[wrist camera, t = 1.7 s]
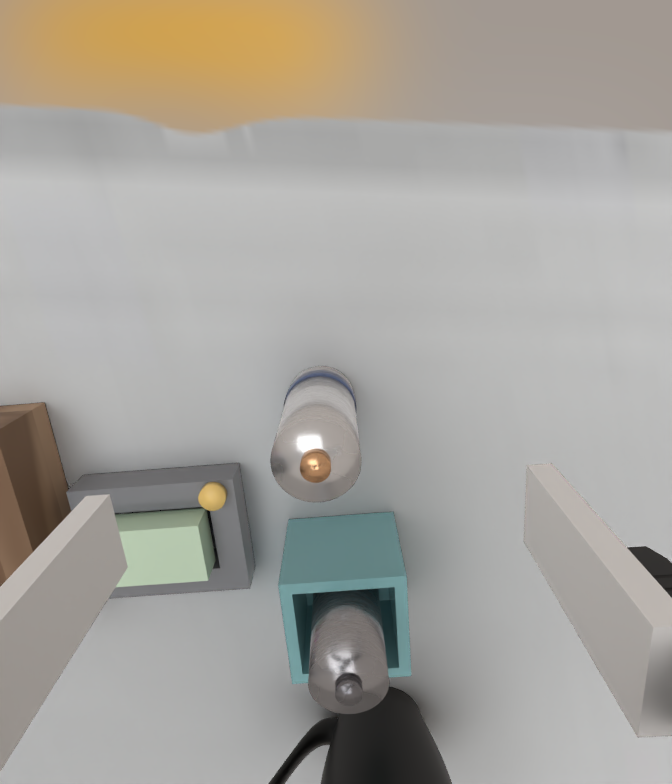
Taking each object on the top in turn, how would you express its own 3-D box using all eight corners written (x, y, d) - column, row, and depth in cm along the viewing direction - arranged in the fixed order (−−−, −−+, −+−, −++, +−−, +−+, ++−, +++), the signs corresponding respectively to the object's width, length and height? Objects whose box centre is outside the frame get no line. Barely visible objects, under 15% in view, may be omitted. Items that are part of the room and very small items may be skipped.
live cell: (291, 431, 28) (273, 514, 20) (283, 367, 27) (261, 428, 19) (356, 426, 28) (366, 507, 20) (352, 362, 27) (359, 420, 19)
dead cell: (317, 595, 31) (311, 729, 22) (312, 544, 30) (303, 665, 21) (376, 591, 31) (392, 723, 22) (373, 540, 29) (388, 660, 21)
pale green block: (122, 566, 29) (109, 587, 27) (109, 514, 28) (95, 533, 26) (215, 559, 29) (208, 580, 27) (206, 507, 28) (197, 526, 26)
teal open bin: (299, 605, 32) (292, 684, 26) (288, 519, 30) (278, 585, 24) (397, 598, 32) (411, 676, 26) (393, 511, 30) (406, 576, 24)
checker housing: (110, 576, 31) (90, 606, 29) (83, 474, 29) (60, 497, 26) (255, 566, 31) (248, 595, 28) (239, 462, 29) (230, 485, 26)
